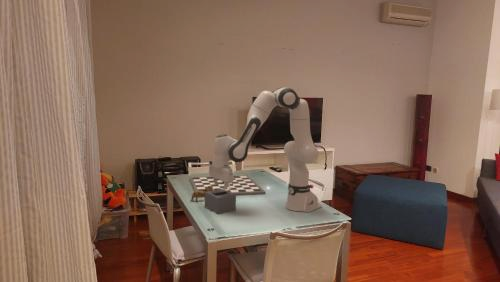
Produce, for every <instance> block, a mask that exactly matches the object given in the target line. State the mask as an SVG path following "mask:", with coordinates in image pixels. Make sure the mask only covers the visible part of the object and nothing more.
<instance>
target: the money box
mask: <svg viewBox="0 0 500 282" xmlns="http://www.w3.org/2000/svg"><path fill="white" fill-rule="evenodd" d="M236 199H237V196H236V195H235V194H233V193H231V192H228V191H226V190H224V189H219V190H213V191H207V192H205V197H204V208H206V209H208V210H209V209H210V211H212V212H213V213H215V214H217V215H220V214H223V213H230V212H234V211H235V212H236V209H237V205H236V203H237V200H236Z"/></svg>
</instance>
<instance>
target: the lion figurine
mask: <svg viewBox="0 0 500 282" xmlns="http://www.w3.org/2000/svg"><path fill="white" fill-rule="evenodd" d="M207 191H213V186H208V187H207V188H206V189H205V190H203V191H198V190H197V191H194V190H193V193H192V194H191V199H190V201H189V202H194V198H195V202H196V203H199V202H200V201H199V200H198V198H205V192H207ZM198 196H200V197H198Z"/></svg>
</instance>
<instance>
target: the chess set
mask: <svg viewBox="0 0 500 282" xmlns="http://www.w3.org/2000/svg"><path fill="white" fill-rule="evenodd" d="M189 182H190V184H191V187H192V189H193V192H194V191H197V190H198V191H203V190H205V189H206V188H207V187H208V186H213V190H219V189H223V186H224V185H225V184H224V182H223V181H221V180H218V179H217V182H218V185H217V186H216V185H214V180H213V177H211V176H190V177H189ZM224 190H225V189H224ZM226 191H228V192H231V193H233V194H235V195H236V197H238V196H255V195H260V196H261V195H266V191H265V190H264V189H263V188H262V187H261V186H260V185H258V183H257V182H256V181H254V179H252V178H251V177H250V176H249V175H233V182H232V183H229V184H228V186H227V189H226ZM198 198H201V197H200V196H198Z"/></svg>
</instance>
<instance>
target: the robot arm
mask: <svg viewBox="0 0 500 282" xmlns="http://www.w3.org/2000/svg"><path fill="white" fill-rule="evenodd" d="M277 106H278V107H281V108H283V109H284V108H285V109H288V112H289V127H290V130H289V131H290V135H292V138H293V140H290V141H288V142H286V143H285V145H284V147H283V152H284V155H285V156H286V159H287V162H288V167H289V183H288V186H287V187H288V188H287V190H288V191H287V198H286V202H285V208H286V209H287V210H289V211H294V212H305V213H311V212H313V211H315V210H317V209H319V208H322V206H323V205H322V204H321V203H319V201H318V200H319V199H318V196H317V195H316V194H315V193H313V192H312V190H311V189H313V188H314V185H313V184H309V180H310V171H309V169H308V168H307V165H306V164H313V163H315V162H316V161H317V160H318V159H319V158H318V157H319V150H318V148H317V147H316V146H315V143H314V141H313V138H312V134H311V133H312V132H311V125H310V124H311V120H310V108H309V104H308V101H307V100H306V99H303V98H300V97H299V95H298V93H297V92H296V91H295V89H293V88H291V87H278V88H277V89H275V90H273V91H270V90H263V91H261V92H260V93H259V94H258V96H257V97H256V98H255V100H254V101H253V103H252V104H251V106H250V108H249V110H248V113H247V116H246V117H247V120H246V125H245V128H244V130H243V132H242V133H241V136H240V137H239V139H235V138H234V137H232V136H230V135H228V134H219V135H217V136H216V137H215V138H214V140H213V156H212V157H213V158H212V159H211V160H208V165H209V166H208V174H209V177H213V180H214V185H216V186H217V185H218V182H217V179H218V180H221V181H223V182H224V184H225V185H224V186H223V189H225V190H226V189H227V186H228V184H229V183H232V182H233V176H234V173H233V170H232V168H231V166H230V160H231V161H233V162H234V163H241V162H244V161H245V160H246V159H247V157H248V154H249V147H250V145H251V143H252V142H253V139H254V138H255V136H256V134H257V132H258V131H259V130H260V128H261V127H262V126H263V124H264V123H265V122H266V121H267V120H268V118H269V116H270V114H271V113H272V110H274V108H276V107H277Z"/></svg>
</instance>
